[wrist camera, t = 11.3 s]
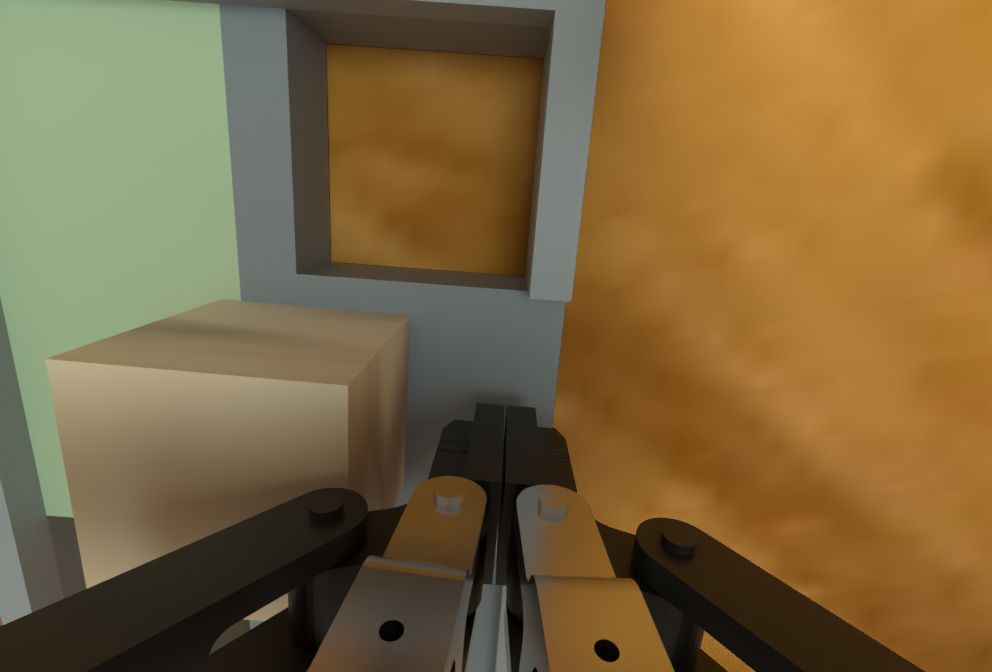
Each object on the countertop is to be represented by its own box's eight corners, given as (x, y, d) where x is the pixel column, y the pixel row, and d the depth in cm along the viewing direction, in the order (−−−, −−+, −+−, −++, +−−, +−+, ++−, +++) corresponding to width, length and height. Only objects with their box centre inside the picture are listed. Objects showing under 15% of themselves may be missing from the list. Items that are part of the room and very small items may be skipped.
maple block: (403, 482, 14) (348, 628, 9) (233, 467, 14) (89, 605, 9) (410, 315, 13) (347, 385, 8) (221, 299, 13) (44, 358, 8)
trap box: (513, 697, 19) (513, 802, 16) (119, 665, 20) (38, 762, 16) (584, 19, 13) (611, -44, 10) (-6, -22, 13) (-185, -99, 10)
